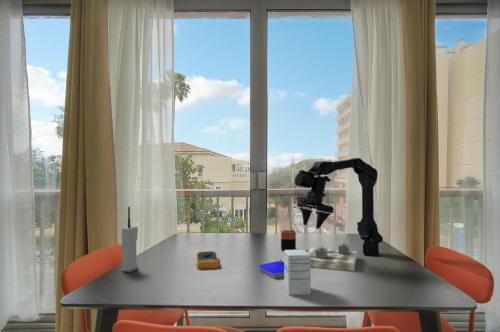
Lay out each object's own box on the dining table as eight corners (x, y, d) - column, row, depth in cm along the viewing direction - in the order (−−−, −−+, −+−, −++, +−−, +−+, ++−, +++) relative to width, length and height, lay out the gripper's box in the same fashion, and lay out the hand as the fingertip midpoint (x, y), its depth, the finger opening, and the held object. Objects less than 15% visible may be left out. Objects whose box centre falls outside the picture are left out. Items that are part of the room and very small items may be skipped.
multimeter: (215, 257, 155) (215, 250, 155) (218, 269, 137) (218, 260, 137) (196, 258, 154) (196, 250, 154) (196, 270, 136) (196, 261, 136)
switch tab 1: (327, 255, 144) (327, 246, 144) (325, 258, 139) (325, 249, 139) (317, 254, 145) (317, 245, 145) (315, 257, 140) (315, 248, 140)
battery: (295, 251, 165) (295, 230, 165) (281, 251, 165) (281, 230, 165) (294, 248, 170) (294, 228, 170) (280, 249, 169) (280, 228, 169)
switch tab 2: (349, 251, 150) (349, 242, 150) (348, 254, 146) (348, 245, 146) (339, 251, 152) (339, 242, 152) (338, 253, 147) (338, 244, 147)
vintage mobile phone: (138, 268, 138) (137, 205, 138) (129, 272, 133) (129, 207, 133) (130, 267, 139) (130, 205, 139) (121, 271, 134) (121, 206, 134)
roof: (273, 280, 124) (273, 265, 124) (257, 271, 134) (257, 257, 134) (300, 275, 129) (300, 260, 129) (283, 267, 140) (283, 253, 140)
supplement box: (283, 287, 115) (283, 249, 115) (305, 286, 116) (305, 249, 116) (288, 295, 108) (287, 255, 108) (311, 294, 109) (311, 254, 109)
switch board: (356, 258, 152) (356, 251, 152) (353, 271, 133) (353, 263, 133) (311, 254, 158) (311, 247, 158) (302, 266, 140) (302, 258, 140)
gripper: (290, 185, 152) (283, 220, 150) (315, 188, 135) (308, 227, 134) (310, 190, 156) (304, 224, 155) (337, 193, 139) (330, 231, 138)
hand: (311, 226), depth 145 cm, fingers open, 9 cm apart
